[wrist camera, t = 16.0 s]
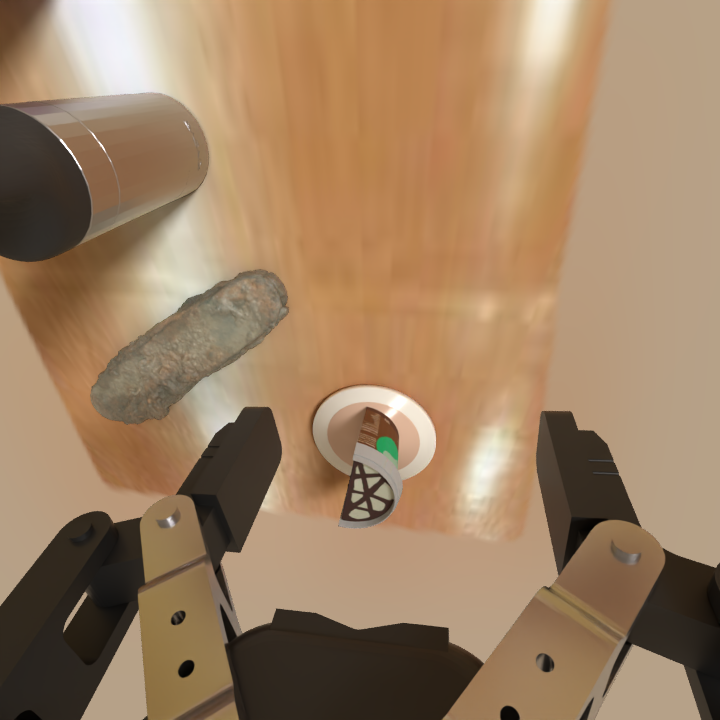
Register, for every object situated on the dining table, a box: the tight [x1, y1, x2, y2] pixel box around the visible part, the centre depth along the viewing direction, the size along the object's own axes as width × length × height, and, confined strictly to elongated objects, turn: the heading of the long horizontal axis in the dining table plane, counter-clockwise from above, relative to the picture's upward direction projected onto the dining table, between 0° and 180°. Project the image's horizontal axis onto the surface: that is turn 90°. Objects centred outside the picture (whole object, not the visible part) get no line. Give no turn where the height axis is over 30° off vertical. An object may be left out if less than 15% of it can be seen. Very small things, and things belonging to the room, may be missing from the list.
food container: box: [338, 407, 403, 528], centre depth 53 cm, size 12×6×10 cm, turn 171°
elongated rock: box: [91, 269, 289, 425], centre depth 56 cm, size 35×5×10 cm
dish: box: [313, 385, 436, 480], centre depth 59 cm, size 16×16×2 cm
